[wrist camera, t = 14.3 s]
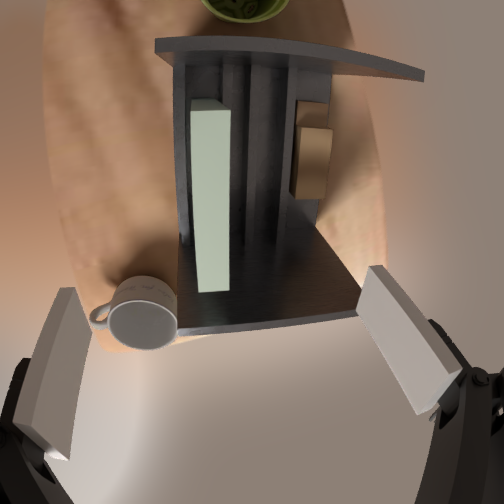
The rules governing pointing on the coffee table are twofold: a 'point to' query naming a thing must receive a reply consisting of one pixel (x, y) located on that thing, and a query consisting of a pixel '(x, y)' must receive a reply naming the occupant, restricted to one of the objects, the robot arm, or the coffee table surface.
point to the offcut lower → (308, 120)
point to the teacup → (140, 314)
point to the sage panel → (211, 191)
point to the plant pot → (245, 9)
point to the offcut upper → (311, 162)
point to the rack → (261, 180)
